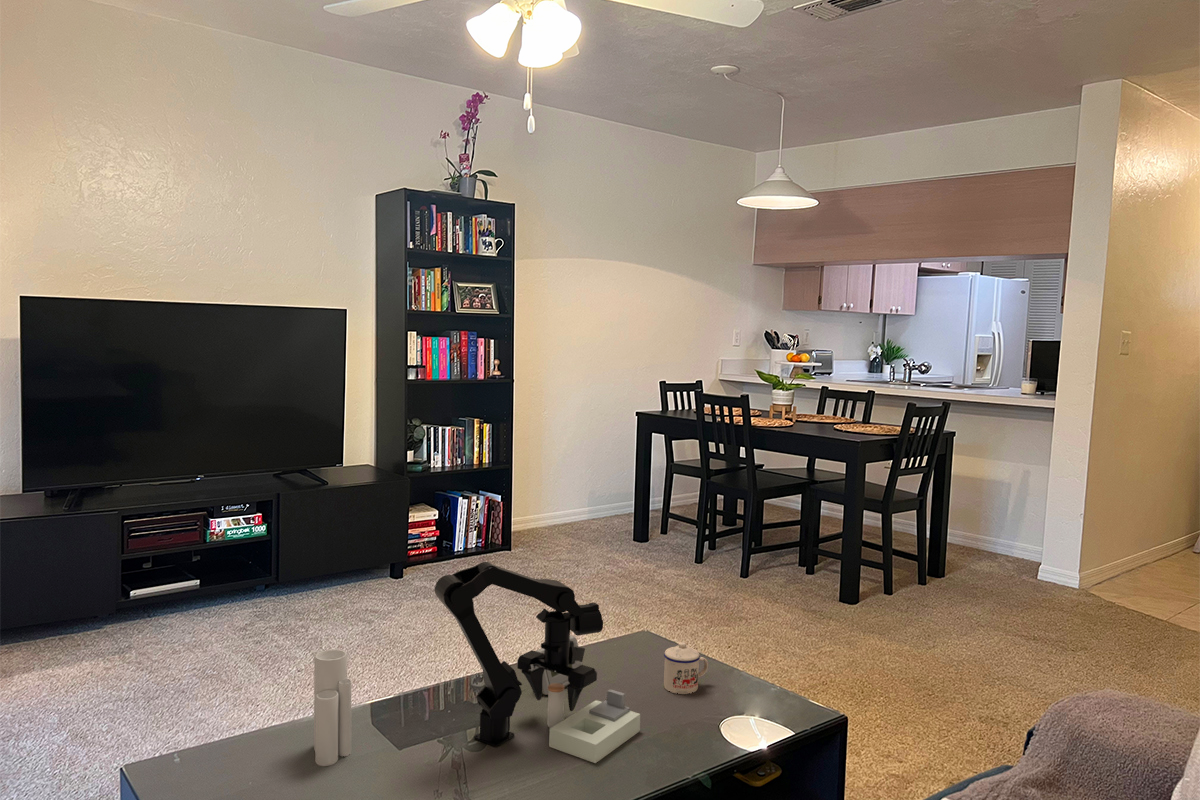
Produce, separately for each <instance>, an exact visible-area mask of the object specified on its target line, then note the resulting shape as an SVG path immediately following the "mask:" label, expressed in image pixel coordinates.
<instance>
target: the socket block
mask: <svg viewBox="0 0 1200 800" xmlns="http://www.w3.org/2000/svg"><path fill="white" fill-rule="evenodd" d="M602 702H603V701H600V700H598V699H595V700H594V701H592V702H590V703H589V704H587V705H585V706H584V707H582V708H581V709H579V710H578V711H576V712H575V713H573V714H571V715H569V716H568V717H566V718H564V719H563V721H561V722H560V723H558V724H556V725H555V726H553V727H552V728H549V731H548V732H549V739H548V740H549V741H548V745H549V746H548V747H549V748H552V749H555V750H557V751H560V752H563V753H565V754H567V755H568V754H569V755H572V756H575V757H577V758H579V759H582V760H585V761H587V762H591V763H594V764H597V762H599V761H601V760H602V759H603V758H605V757H607V756H608V755H609V754H610V753H611V752H613V751H615V750H616V749H617V748H619V747H620V746H621V745H623V744H624V743H625V742H627V741H628V740H630V739H631V738H632V737H634V736H635V735H636V734H638V733H639V732H640V731H641V713H638V712H635V711H632V710H630V711H629V712H628V713H626V714H625V715H623V716H622V717H620V718H619V719H617V720H616V721H611V720H608V719H605V718H601V717H598V716H595V715H592V714H589V710H590V709H592V708H594V707H595V706H597V705H598V704H600V703H602Z"/></svg>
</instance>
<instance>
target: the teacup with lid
mask: <svg viewBox="0 0 1200 800" xmlns="http://www.w3.org/2000/svg"><path fill="white" fill-rule="evenodd" d="M663 656H664V666H663V667H664V668H663V669H664V671H663V672H664V673H663V687H664V689H665V690H666V691H668V692H669V691H670V692H669V693H672V694H677V693H678V694H677V695H688V694H687V693H690V694H693V693H696V691H697V690H698V689H699V678H701V677H703V676H704V675H705V674H706V673H707V671H708V669H709V661H708V660H707V659H706V658H705V657H702V656H701V655H700V653H699V651H698V650H696V649H694V648H693V647H689V646H687V643H686V642H684V641H680V642H678V644H677V645H675V646H671V647H668V648H667V649H665V651H664V653H663ZM701 661H702V662H703V663H704V665H703V668H702V670H701V671H700V672H699V669H700V668H699V665H700V662H701ZM692 692H693V693H692Z"/></svg>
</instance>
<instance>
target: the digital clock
mask: <svg viewBox="0 0 1200 800" xmlns="http://www.w3.org/2000/svg"><path fill="white" fill-rule="evenodd" d="M570 641H573V643H574V645H575V646H579V644H578V640H577V637H576V635H570ZM536 652H540V653H543V654H544V649H543V648H541V647H540V648H539V649H537V650H536ZM580 665H584V664H583V661H582V662H580V661H575V663H574V664H572V665H571V664H570V665H569V667H571V668H574V669H575V668H577V667H579V666H580ZM554 683H559V684H562V685H564V688H567V685H569V684H570V683H569V681H568V676H566V675H562V674H559V673H556V672H553V671H549V670H546V669H545V670H544V673H543V680H542V695H544V696H548V686H549V685H550V684H554Z"/></svg>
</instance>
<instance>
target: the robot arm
mask: <svg viewBox="0 0 1200 800" xmlns="http://www.w3.org/2000/svg"><path fill="white" fill-rule="evenodd" d="M492 585H494V586H497V587H500V588H503V589H506V590H509V591H513V592H515V593H518V594H521V595H524V596H527V597H531V598H533V599H535V600H537V601H539V602H541V603H543V604H544V605H546V606H548V607H549V608H551V609H553V611H552V610H551V611H549V610H547V609H546V608H543V609H542V610H541V611H540V612H539V613H538V614H536V617H535V618H536V619H537V620H538V621H540V622H541V623H543V624H544V641H543V642H542V643H540V649H541V648H543V649H544V654H543V653H540V652H536V651H537V650H536V651H535V650H533V649H532V650H529V651H528V652H525V653H523V654H521V655H519V656H518V658H517V661H516V662H517V663H516V668H517V669H519V670H521V671H520V672H521V673H522V675H524V676H525V678H526V680H527V682H528V683H529V686H530V687H531V690H532V692H533V694H534V696H535V698H536V700H537V701H540V700H541V701H542V697H543V693H542V680H543V673H544V670H545V669H546V670H549V671H553V672H556V673H559V674H562V675H566V676H568V681H569V683H570V684H569V685H567V686H566V688H567V690H566V691H567V701H568V702H567V703H568V709H569V711H570V712H572V711H574V710H575V708H576V705H577V703H578V701H579V698H580V695H581V693H582V691H583V689H584V688H586V687H587V686H589V685H591V684H592V683H594V682H596V681H598V680H597V679H598V672H597V670H596V669H595V668H594V667H591V666H588V665H584V664H583V665H580V666H579V667H577V668H575V669H574V668H571V667H569V665H570V664H571V665H572V664H574V663H575V661H580V662H582V663H583V660H584V657H585V656H584V655H585V652H586V648H585V647H583V646H582V647H581V646H580V645H578V646H575V645H574V643H573V641H570V636H571V633H573V634H574V636H584V635H591V634H592V635H593V634H596V633H601V632H602V630H603V627H604V620H603V616H602V613H601V611H600V604H598V603H596V602H589V603H586V604H580V605H579V604H578V602H577V601H576V596H575V593H574V590H573V589H572V588H570V587H569V586H567V585H566V584H564V583H563V582H561V581H559V580H556V579H548V578H534V577H530V576H528V575H524V574H522V573H519V572H515V571H513V570H510V569H506V568H503V567H501V566H497V565H495V564H492V563H491V562H489V561H482V562H480V563H477V565H474V566H471V567H468V568H465V569H461V570H458V571H456V572H454V573H453V574H446V575H443V576H442V577H440V578H439V579H438V580H437V582H436V583H435V586H434V589H433V590H434V593H435V596H436V597H437V599H438V600H439V601H440V602H441V604H442V605H443V606H444V607H445V608H446V609H447V610H448V611H449V613H450V614H451V615H452V617H454V619H455V620H456V623H457V625H459V627H460V628H459V629H460V630H461V632H462V633H463V636H464V637H465V639H466V641H467V643H468V644H469V646H470V648H471V651H472V652H473V655H474V656H475V658H476V659H477V662H478V664H479V666H480V667H481V670H482V677H483V682H484V685H485V686H484V687H483V688H482V689H481V690H480V691H479V693H478V694H476V696H475V699H476V702H477V704H478V706H480V707H481V708H482V709H481V712H479V713H480V714H479V733H477V734H475V735H474V737H473V738H474V739H475V740H477V741H479V742H481V743H484V744H488V745H490V746H492V747H498V746H500V745H502V744H503V743H506V742H507V741H508V740H510V739H512V738H514V737H515V733H514V732H511V731H510V730H511V725H510V724H511V717H512V716H513V713H514V711H515V708H516V705H517V703H518V702H519V701H520V698H521V696H522V693H523V692H522V688H521V686H523V683H522V682H521V681H520V680H519V678H518V676H517V672H516V670H515V669H514V668H513V667H512V666H511V665H510V664H509V663H507V661H506V660H503V661H502V662H501V661H500V658H499V657H498V656H497V653H496V652H495V650H494V648H493V645H492V644H491V642H490V640H489V638H488V635H487V634H486V632H485V631H484V628H483V627H482V624H481V623H480V621H479V618H478V617H477V615H476V613H475V607H474V599H475V598H476V597H478V596H479V595H480V594H482V593H483V592H484V591H485V589H487V588H488V587H490V586H492Z"/></svg>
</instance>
